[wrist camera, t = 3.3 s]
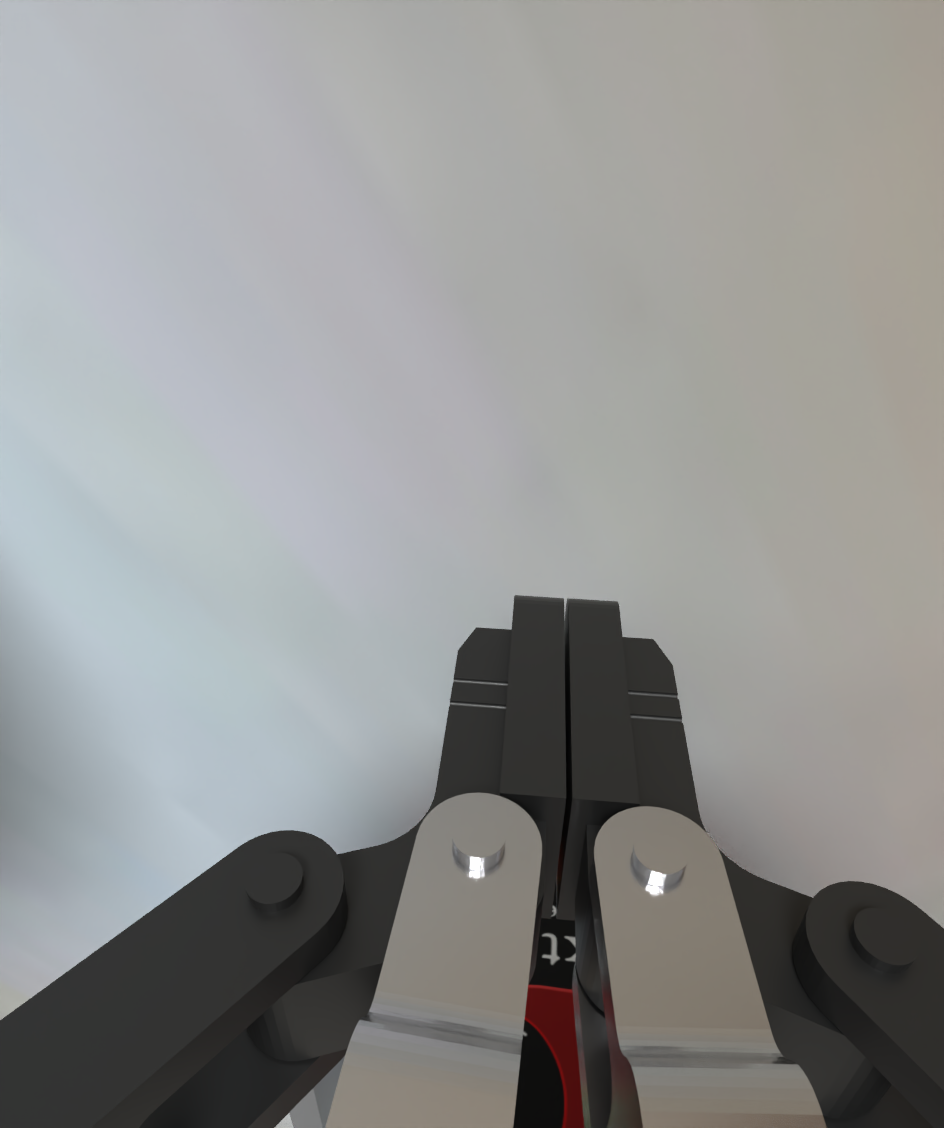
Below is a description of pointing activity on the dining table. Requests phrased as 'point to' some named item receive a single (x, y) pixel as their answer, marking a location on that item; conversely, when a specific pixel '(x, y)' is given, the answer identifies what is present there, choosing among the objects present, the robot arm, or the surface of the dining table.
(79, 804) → the dining table surface
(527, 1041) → the canned food
